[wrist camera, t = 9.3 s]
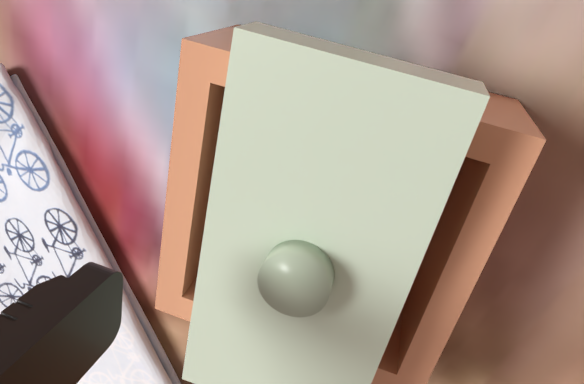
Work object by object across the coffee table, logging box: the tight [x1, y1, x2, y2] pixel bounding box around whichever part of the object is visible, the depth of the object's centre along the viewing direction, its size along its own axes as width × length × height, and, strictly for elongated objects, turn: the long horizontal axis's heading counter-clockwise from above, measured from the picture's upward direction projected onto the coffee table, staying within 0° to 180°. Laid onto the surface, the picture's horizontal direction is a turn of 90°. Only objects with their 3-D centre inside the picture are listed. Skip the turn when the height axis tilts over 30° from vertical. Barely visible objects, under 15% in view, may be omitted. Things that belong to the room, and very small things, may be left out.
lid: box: [182, 22, 490, 384], centre depth 14 cm, size 6×12×2 cm, turn 167°
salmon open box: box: [155, 25, 546, 384], centre depth 17 cm, size 10×10×4 cm
